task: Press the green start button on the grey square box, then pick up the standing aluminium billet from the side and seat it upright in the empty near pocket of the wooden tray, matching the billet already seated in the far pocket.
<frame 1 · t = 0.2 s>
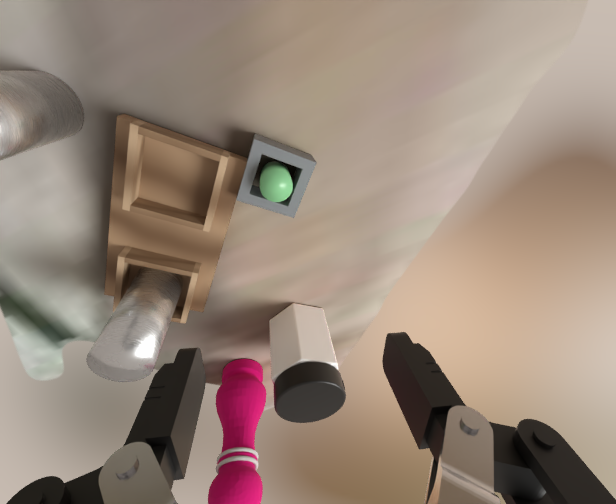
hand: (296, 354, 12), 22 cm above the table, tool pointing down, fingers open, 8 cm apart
button: (275, 181, 27), point 3 cm above the table, slide at 0.0 cm
grey square box: (274, 172, 30), on the table
wooden tray: (172, 227, 31), on the table
jar: (298, 323, 42), on the table
pepper mill: (243, 369, 46), on the table
billet: (49, 105, 24), on the table
seated billet: (160, 281, 33), resting on wooden tray
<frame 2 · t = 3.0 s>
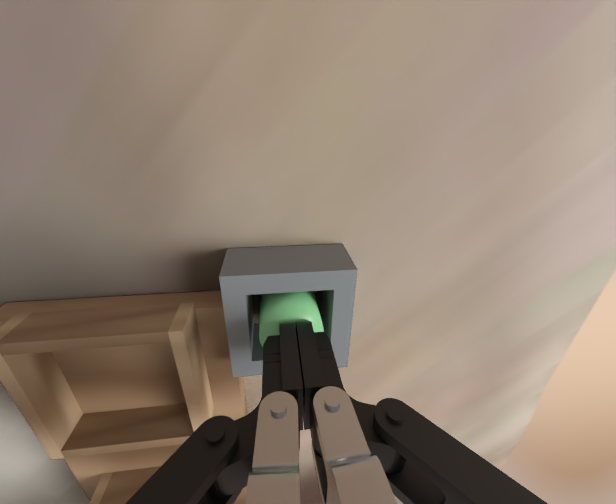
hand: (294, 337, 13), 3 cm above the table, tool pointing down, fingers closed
button: (289, 314, 15), point 2 cm above the table, slide at 0.9 cm, touching gripper
grey square box: (287, 294, 16), on the table
wooden tray: (163, 418, 19), on the table
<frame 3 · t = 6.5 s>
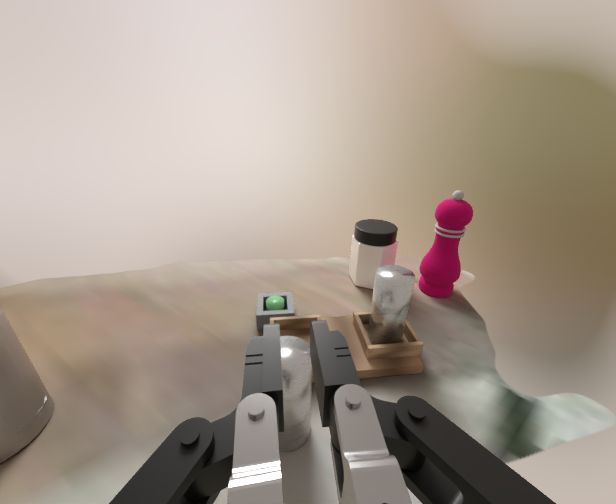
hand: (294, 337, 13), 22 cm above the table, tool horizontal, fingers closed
button: (275, 308, 48), point 2 cm above the table, slide at 1.0 cm
grey square box: (275, 316, 49), on the table
wooden tray: (340, 348, 42), on the table
jar: (369, 279, 61), on the table
pepper mill: (434, 289, 58), on the table
billet: (287, 427, 32), on the table
seated billet: (384, 337, 43), resting on wooden tray
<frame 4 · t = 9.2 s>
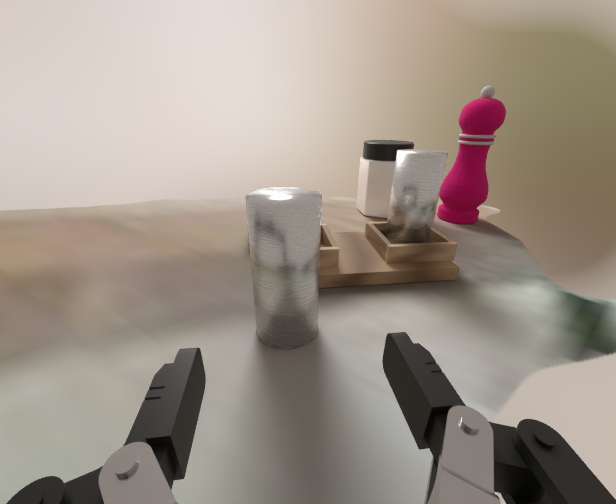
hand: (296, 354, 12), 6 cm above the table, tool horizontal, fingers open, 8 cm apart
wooden tray: (351, 260, 34), on the table
jar: (379, 212, 53), on the table
pepper mill: (456, 219, 50), on the table
billet: (287, 326, 24), on the table
seated billet: (405, 247, 35), resting on wooden tray
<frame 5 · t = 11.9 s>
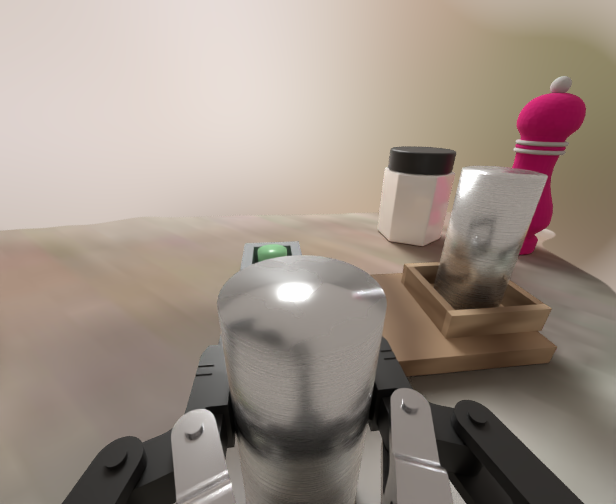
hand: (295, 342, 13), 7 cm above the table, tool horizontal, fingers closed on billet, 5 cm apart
button: (272, 263, 30), point 2 cm above the table, slide at 1.0 cm
grey square box: (273, 277, 31), on the table
wooden tray: (387, 322, 24), on the table
jar: (407, 235, 43), on the table
pepper mill: (505, 246, 40), on the table
billet: (300, 487, 13), on the table, touching gripper
seated billet: (462, 303, 24), resting on wooden tray
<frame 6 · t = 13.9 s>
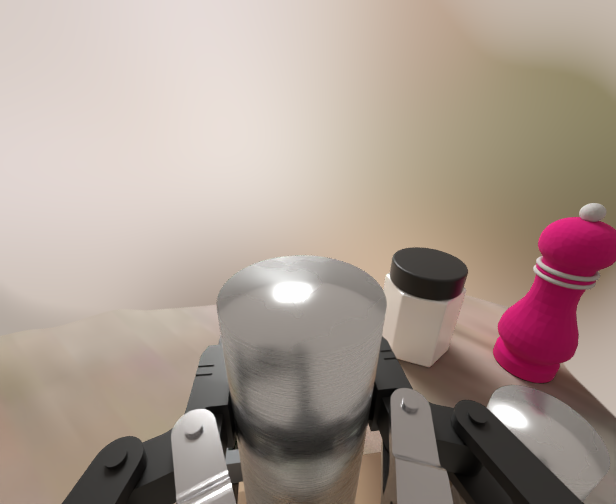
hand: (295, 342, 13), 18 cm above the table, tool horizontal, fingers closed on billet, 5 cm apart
grey square box: (256, 442, 26), on the table
jar: (410, 342, 38), on the table
pepper mill: (521, 363, 35), on the table
billet: (301, 488, 13), point 11 cm above the table, touching gripper
when the fingers open (9 cm above the table, at t = 16.0 s): billet drops 1 cm, resting on wooden tray.
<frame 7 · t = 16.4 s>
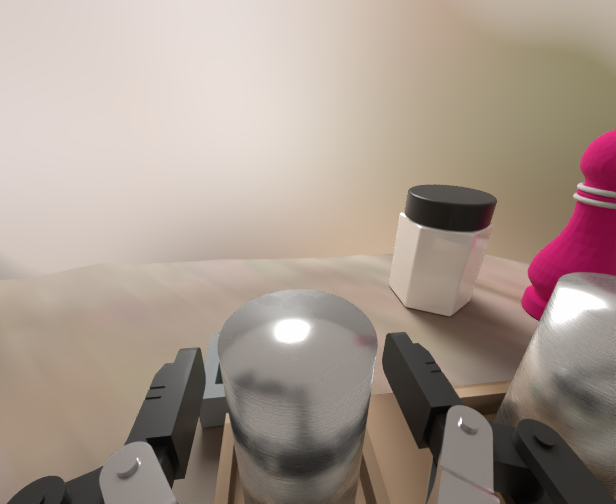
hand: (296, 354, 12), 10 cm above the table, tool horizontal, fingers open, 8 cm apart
grey square box: (250, 385, 22), on the table
wooden tray: (419, 501, 15), on the table
jar: (426, 295, 34), on the table
pepper mill: (554, 314, 31), on the table
seated billet: (536, 469, 16), resting on wooden tray
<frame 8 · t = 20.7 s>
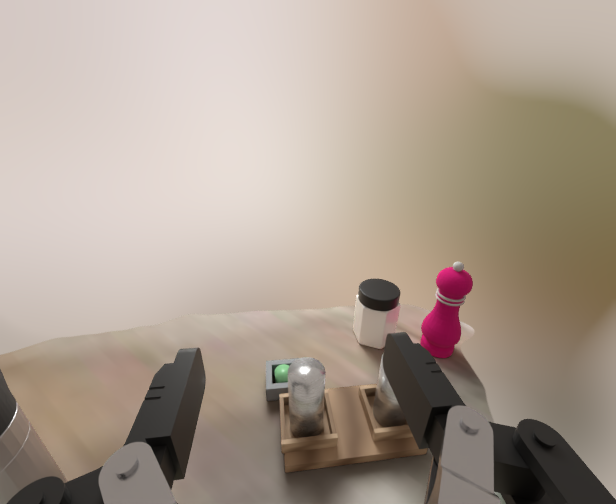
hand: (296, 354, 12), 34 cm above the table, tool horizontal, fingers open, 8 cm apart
button: (283, 377, 50), point 2 cm above the table, slide at 1.0 cm
grey square box: (283, 384, 51), on the table
wooden tray: (347, 424, 44), on the table
jar: (372, 335, 63), on the table
pepper mill: (435, 347, 60), on the table
billet: (306, 423, 43), point 2 cm above the table, touching wooden tray
seated billet: (389, 413, 44), resting on wooden tray
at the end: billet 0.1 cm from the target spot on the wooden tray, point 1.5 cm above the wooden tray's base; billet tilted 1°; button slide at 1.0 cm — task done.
